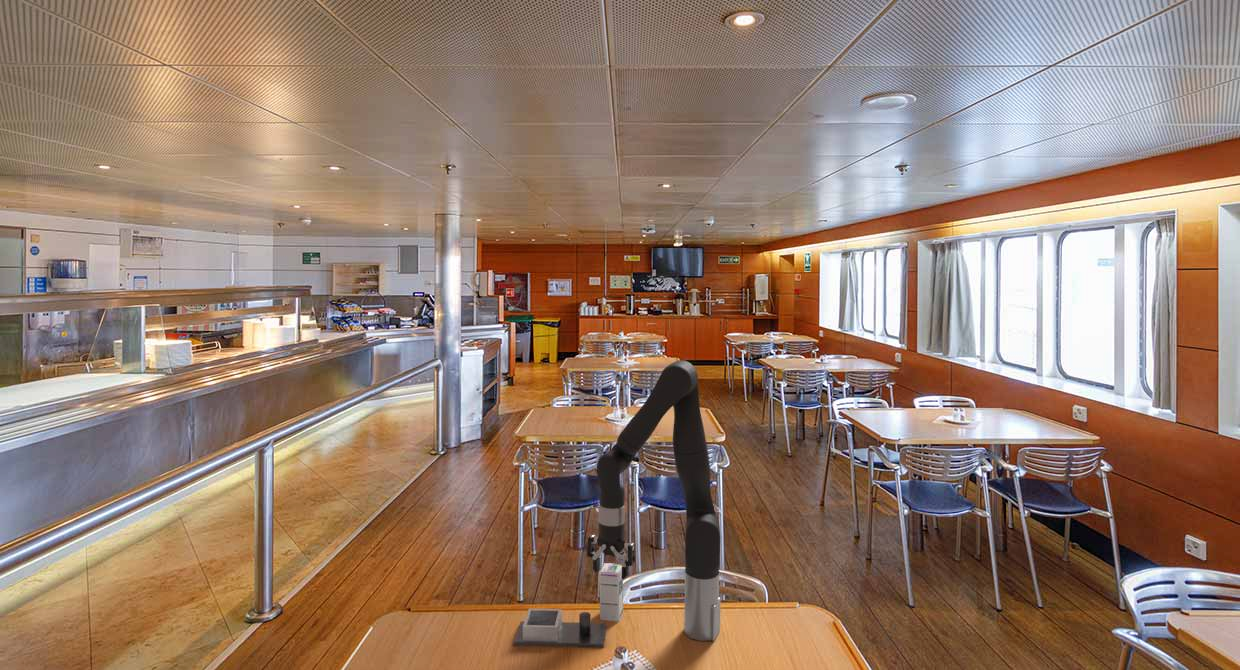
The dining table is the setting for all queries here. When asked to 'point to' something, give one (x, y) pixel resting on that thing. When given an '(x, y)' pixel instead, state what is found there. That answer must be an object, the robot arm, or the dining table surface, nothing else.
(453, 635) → the dining table surface
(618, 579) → the syrup box
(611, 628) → the dining table surface
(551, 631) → the bolt plate
